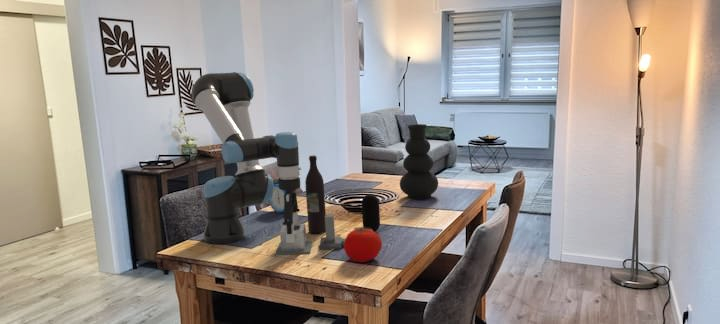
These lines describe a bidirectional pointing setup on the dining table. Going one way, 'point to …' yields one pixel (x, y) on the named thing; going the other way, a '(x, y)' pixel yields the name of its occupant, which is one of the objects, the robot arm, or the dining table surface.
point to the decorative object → (371, 212)
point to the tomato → (362, 245)
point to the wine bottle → (315, 199)
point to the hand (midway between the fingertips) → (292, 235)
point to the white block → (298, 237)
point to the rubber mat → (306, 251)
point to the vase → (418, 165)
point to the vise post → (333, 235)
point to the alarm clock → (277, 198)
